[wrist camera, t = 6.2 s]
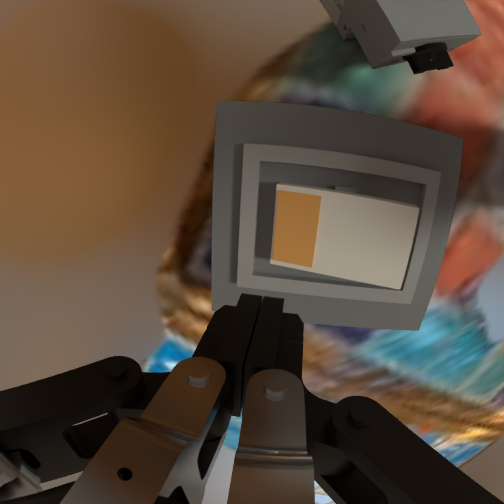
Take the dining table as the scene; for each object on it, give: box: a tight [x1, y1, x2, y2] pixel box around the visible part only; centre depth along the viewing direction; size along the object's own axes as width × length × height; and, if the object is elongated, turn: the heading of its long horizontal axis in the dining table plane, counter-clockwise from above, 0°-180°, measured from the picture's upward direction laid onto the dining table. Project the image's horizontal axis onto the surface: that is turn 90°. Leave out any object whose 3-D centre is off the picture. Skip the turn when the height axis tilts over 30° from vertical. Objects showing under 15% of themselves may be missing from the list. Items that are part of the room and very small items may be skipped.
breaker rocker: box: [270, 182, 419, 290], centre depth 20 cm, size 10×6×1 cm, turn 87°
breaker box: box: [212, 101, 463, 330], centre depth 24 cm, size 20×18×7 cm
